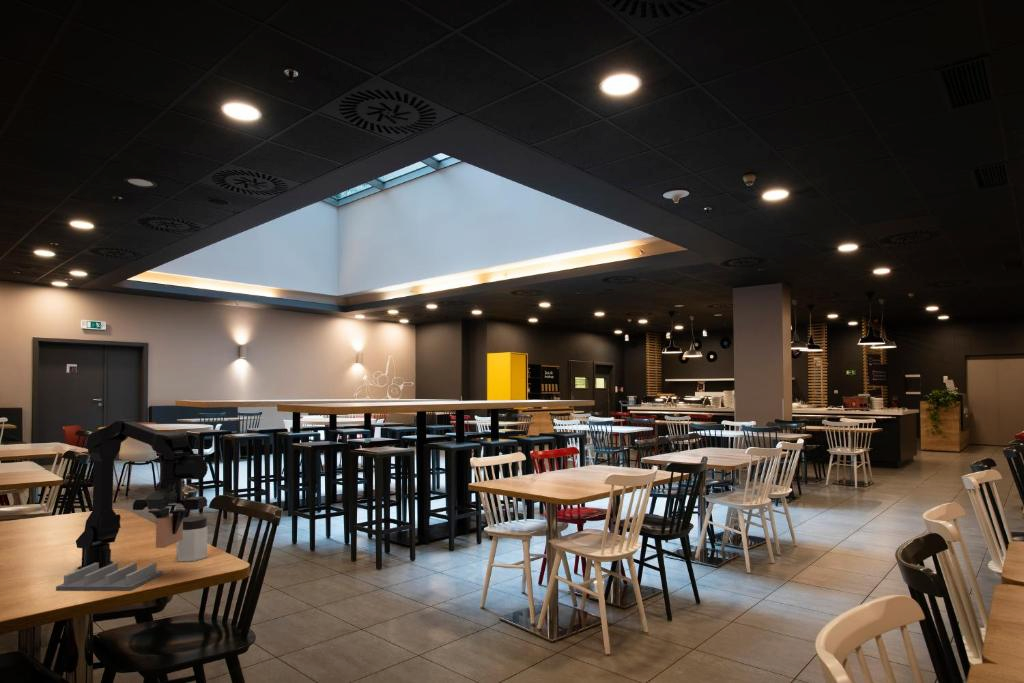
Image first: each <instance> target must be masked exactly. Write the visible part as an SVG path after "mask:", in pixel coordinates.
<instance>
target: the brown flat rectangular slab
mask: <svg viewBox="0 0 1024 683" xmlns="http://www.w3.org/2000/svg"><path fill="white" fill-rule="evenodd" d="M155 518H156V517H155ZM155 523H156V526H155V527H156V528H155V529H156V530H155V549H161V548H162V549H164V548H167V547H170V546H172V545H175V544H177V542H179V541H181V540H182V539H183V520H182V522H181V524H180V526H179V529H178V531H177V533H176V534H173V514H172V512H170V513H169V514H168V515H165V516H162V517H159V518H156V521H155Z"/></svg>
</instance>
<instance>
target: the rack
mask: <svg viewBox="0 0 1024 683" xmlns="http://www.w3.org/2000/svg"><path fill="white" fill-rule="evenodd" d="M163 573H164V572H163V570H157V562H151V563H150V564H148V565H145V566H144V567H141V568H139V569H138V562H132V563H130V564H128V565H126V566H124V567H121V568H119V562H113V563H111V564H109V565H107V566H104V567H102V568H99V563H94V564H91V565H89V566H86V567H84V568H81V569H77V570H75V571H72V572H70V573H67V574H64V575H63V582H62V583H60V584H59V585H56V586H55V591H84V592H85V591H89V592H90V591H91V592H92V591H97V592H98V591H99V592H100V591H101V592H102V591H106V592H107V591H110V592H111V591H112V590H120V591H122V592H123V591H133V590H135V589H137V588H139V587H141V586H143V585H145V584H147V583H149V582H151V581H153V580H155V579H157V578H159V577H160V576H162V575H163Z"/></svg>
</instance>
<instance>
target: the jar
mask: <svg viewBox="0 0 1024 683" xmlns="http://www.w3.org/2000/svg"><path fill="white" fill-rule="evenodd" d="M175 552H176V554H175V555H176V556H175V559H176V560H177V561H178V562H181V563H182V562H184V563H185V562H196V561H199V560H203V559H206V558H207V556H208V517H207V516H205V515H203V516H201V515H195V516H194V515H193V516H185V517H184V518H183V539H182V540H181V541H179V542H177V543H176V551H175Z"/></svg>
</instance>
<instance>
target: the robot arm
mask: <svg viewBox="0 0 1024 683" xmlns="http://www.w3.org/2000/svg"><path fill="white" fill-rule="evenodd" d="M129 438H131V439H134V440H136V441H138V442H140V443H144V444H147V445H148V446H150V447H151V449H152V451H154V452H156V453H158V454H159V455H158V456H157V457H156V458H155V459H154V460H153V462H154V463H155V464H156V463H158V464H159V463H160V464H159V482H157V483H156V486H155V490H154V491H152V492H150V494H149V495H148V496H143V497H140V498H136V499H135V500H134V501H133V503H132V511H144V510H145V509H146V508H147V510H148V511H147V512H148V513H149V514H152V515H153V516H155V518H159V517H162V516H165V515H168V514H170V513H172V514H173V534H176V533H177V531H178V529H179V526H180V524H181V522H182V520H183V518H185V517H186V515H187V513H188V511H190V510H191V511H192V510H193V511H194V510H200V509H203V508H205V507H208V499H207V498H206V496H191V497H189V498H185V494H183V485H185V484H186V483H185V481H186V480H196V481H197V480H198V481H199V480H200V481H201V480H202V479H204V478H205V477H206V475H207V473H208V470H209V469H208V468H209V466H208V465H207V464H208V463H207V462H206V460H204V459H203V455H202V454H197V455H196V454H195V452H194V451H193V449H192V447H191V446H190V443H189V442H188V439H187V436H185V434H183V433H179V432H169V431H168V432H165V431H162V430H161V431H160V430H158V429H155V428H153V427H150V426H147V425H144V424H142V423H138V422H136V421H134V420H132V419H119V420H116V421H114V422H112V423H111V424H110V425H107V426H105V427H102V428H100V429H98V430H95V431H93V432H92V433H90V434H89V435H88V436H87V442H86V444H87V452H88V454H89V457H90V458H91V459H92V462H93V486H92V487H93V488H92V489H93V490H92V510H91V512H90V514H89V516H88V517H87V519H86V521H85V524H84V525H85V526H84V530H83V532H82V533H81V534H80V535H79V537H78V538H77V539H76V540H75V544H76V548H77V549H81V565H79V566H77V570H79V569H81V568H84V567H86V566H89V565H91V564H94V563H99V569H101V568H104V567H106V566H108V565H111V564H113V563H114V562H113V561H112V560H111V559H112V549H111V548H110V546H111V543H115V542H116V539H117V536H118V534H119V531H120V528H121V529H122V527H121V515H120V514H118V513H116V512H115V511H114V508H113V506H114V505H113V501H114V500H113V498H114V497H113V496H114V471H115V470H114V466H115V459H116V458H117V456H118V455H119V453H120V451H121V448H122V443H123V442H124V441H126V440H128V439H129ZM170 507H175V509H174V510H172V511H171V512H170Z"/></svg>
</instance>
